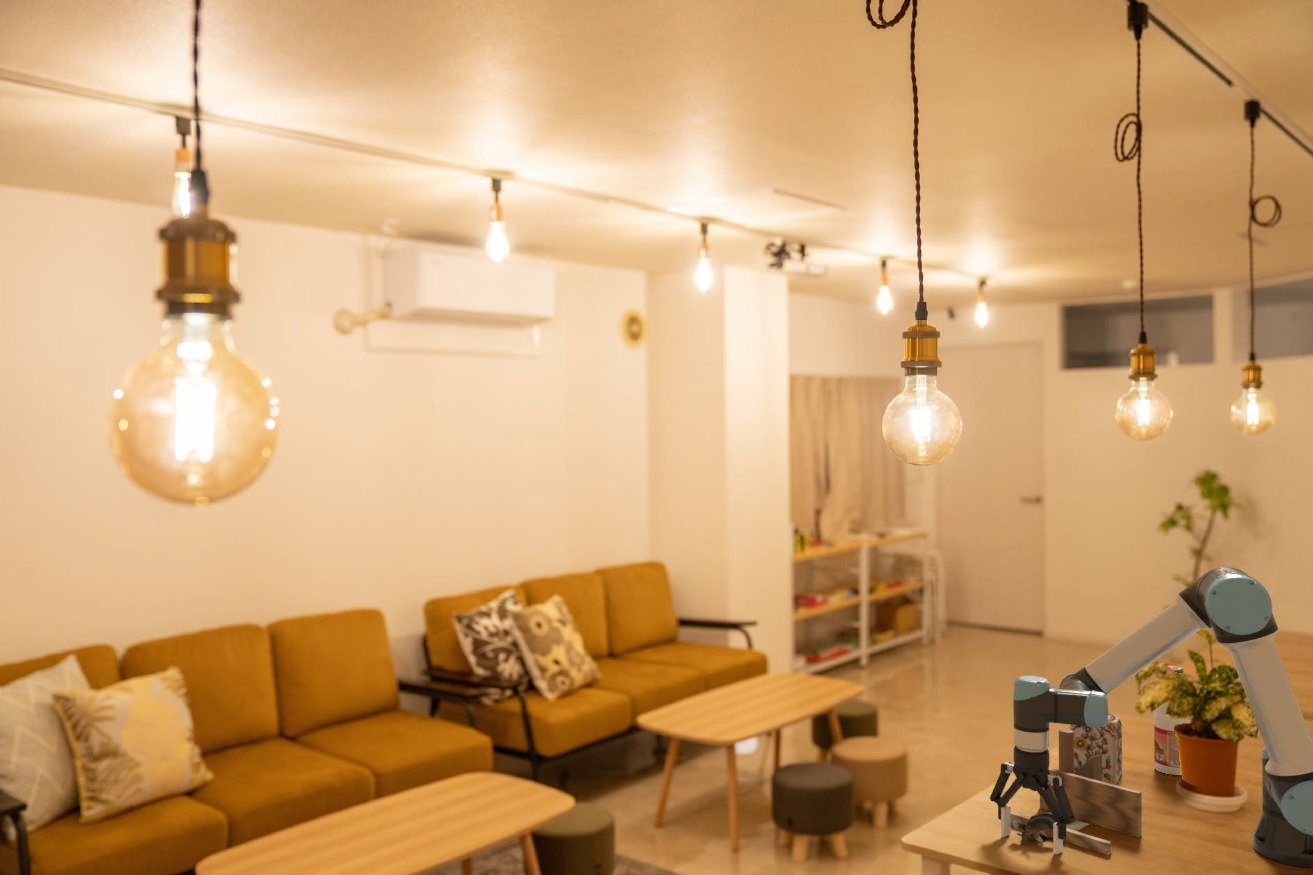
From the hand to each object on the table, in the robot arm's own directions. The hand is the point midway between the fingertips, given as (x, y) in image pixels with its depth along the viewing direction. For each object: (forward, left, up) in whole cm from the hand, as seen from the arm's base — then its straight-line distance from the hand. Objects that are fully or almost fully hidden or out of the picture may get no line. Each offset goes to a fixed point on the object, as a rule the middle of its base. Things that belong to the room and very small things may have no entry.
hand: (1031, 843), depth 229 cm
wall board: (-2, -16, 0) cm, 16 cm away
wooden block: (+4, -29, 0) cm, 29 cm away
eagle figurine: (0, -2, 0) cm, 2 cm away
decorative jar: (+12, -54, 0) cm, 55 cm away
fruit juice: (0, -73, 0) cm, 73 cm away
